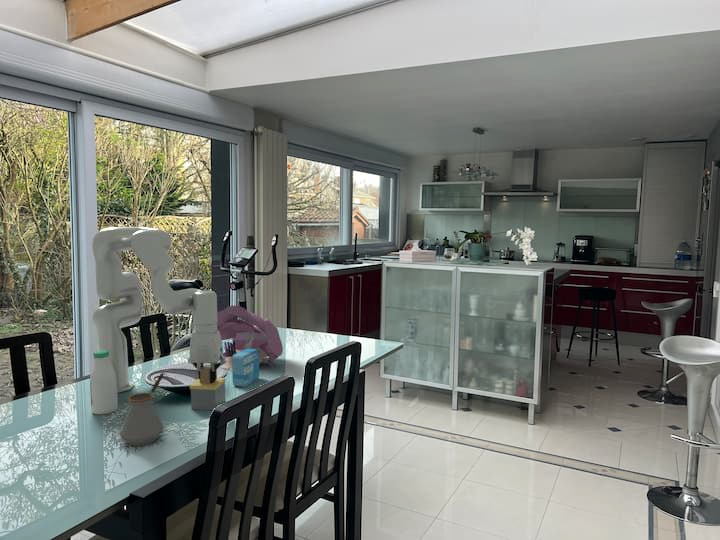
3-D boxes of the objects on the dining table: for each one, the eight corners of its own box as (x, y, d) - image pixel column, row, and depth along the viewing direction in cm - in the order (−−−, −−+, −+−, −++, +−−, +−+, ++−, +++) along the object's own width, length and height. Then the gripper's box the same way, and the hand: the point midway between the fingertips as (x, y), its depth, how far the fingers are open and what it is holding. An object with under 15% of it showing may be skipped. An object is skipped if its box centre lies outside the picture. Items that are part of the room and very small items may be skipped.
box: (191, 409, 169) (190, 388, 168) (202, 399, 178) (201, 380, 177) (215, 410, 168) (215, 389, 167) (225, 400, 177) (224, 381, 176)
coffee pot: (152, 449, 141) (150, 397, 139) (112, 448, 142) (109, 396, 140) (183, 418, 162) (181, 372, 160) (148, 417, 163) (145, 371, 161)
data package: (242, 388, 189) (242, 356, 188) (232, 386, 191) (231, 355, 189) (259, 378, 200) (258, 348, 199) (249, 377, 202) (248, 347, 200)
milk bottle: (123, 407, 171) (119, 349, 168) (104, 416, 163) (101, 355, 161) (105, 404, 173) (101, 347, 171) (86, 413, 166) (82, 353, 163)
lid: (189, 391, 168) (188, 370, 168) (201, 383, 177) (200, 362, 176) (215, 393, 167) (214, 371, 167) (225, 384, 176) (224, 363, 175)
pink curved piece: (201, 378, 215) (185, 316, 207) (226, 353, 237) (213, 296, 229) (278, 377, 206) (264, 312, 198) (297, 350, 228) (286, 291, 220)
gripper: (177, 330, 167) (179, 384, 169) (225, 331, 165) (227, 386, 167) (187, 324, 174) (189, 377, 177) (233, 326, 173) (235, 378, 175)
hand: (207, 381), depth 172 cm, fingers closed on lid, 3 cm apart
